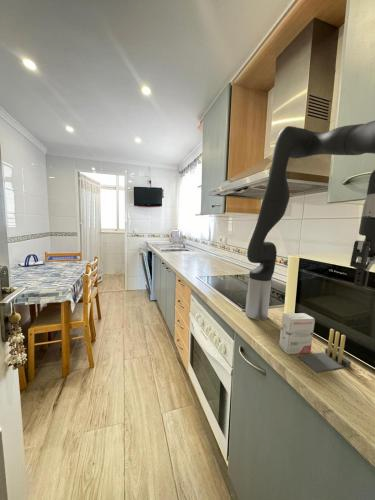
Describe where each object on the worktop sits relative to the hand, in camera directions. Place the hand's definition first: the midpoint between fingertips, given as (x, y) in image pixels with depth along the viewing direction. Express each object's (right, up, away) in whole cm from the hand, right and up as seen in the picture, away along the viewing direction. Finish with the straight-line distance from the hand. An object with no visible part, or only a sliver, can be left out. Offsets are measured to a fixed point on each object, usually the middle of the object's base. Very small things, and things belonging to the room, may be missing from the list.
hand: (370, 284), depth 50 cm
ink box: (-8, -25, +20) cm, 33 cm away
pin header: (+3, -26, +15) cm, 30 cm away
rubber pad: (-3, -26, +14) cm, 29 cm away
